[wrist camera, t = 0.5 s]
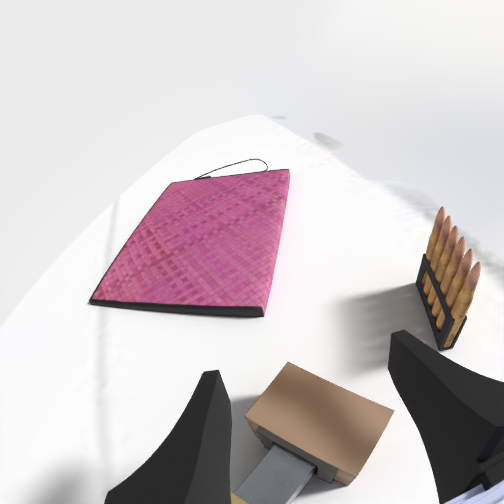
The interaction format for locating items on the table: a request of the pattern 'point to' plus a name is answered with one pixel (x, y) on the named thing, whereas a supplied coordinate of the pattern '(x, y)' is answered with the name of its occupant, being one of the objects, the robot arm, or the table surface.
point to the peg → (275, 479)
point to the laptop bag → (203, 248)
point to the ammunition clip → (447, 281)
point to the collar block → (318, 423)
